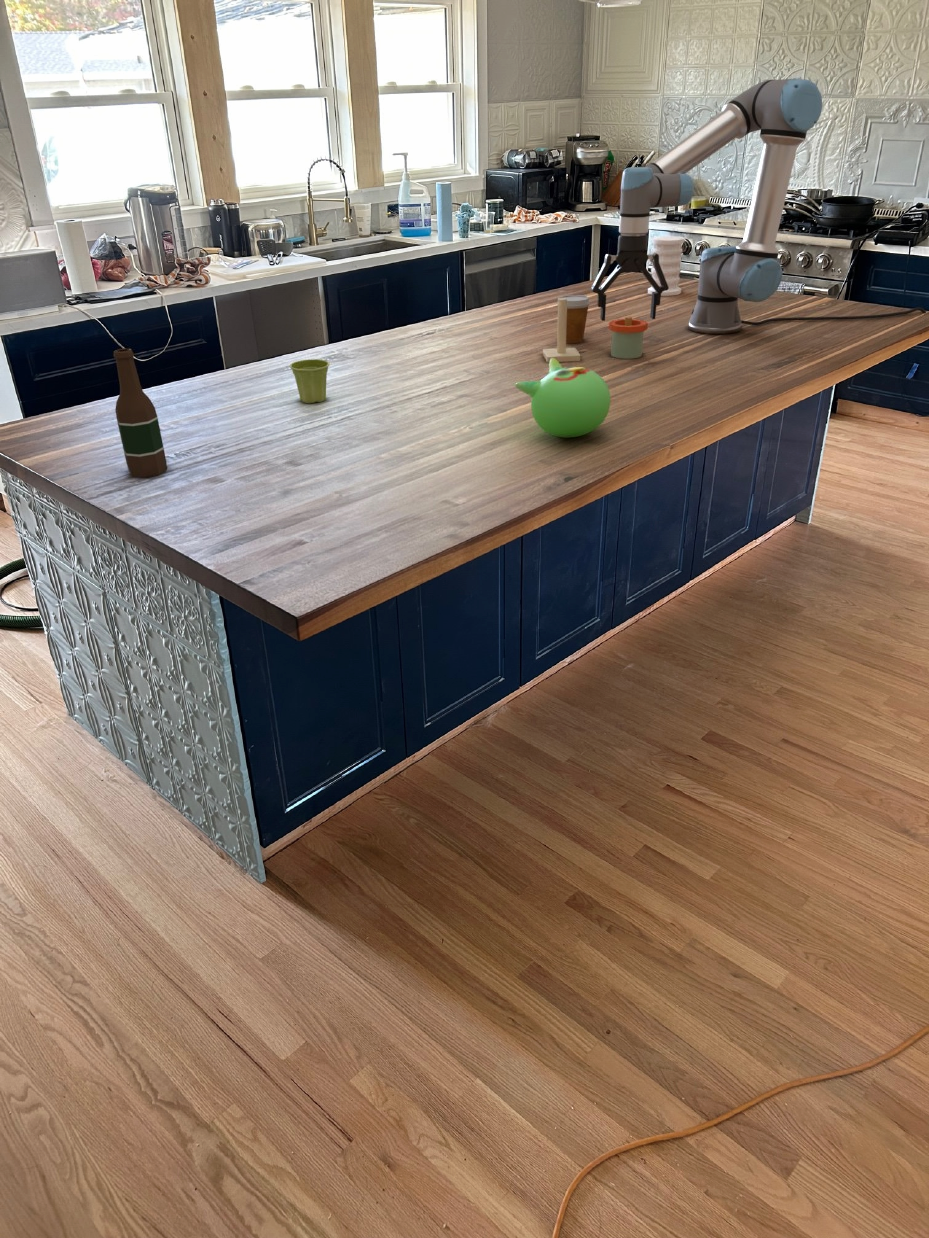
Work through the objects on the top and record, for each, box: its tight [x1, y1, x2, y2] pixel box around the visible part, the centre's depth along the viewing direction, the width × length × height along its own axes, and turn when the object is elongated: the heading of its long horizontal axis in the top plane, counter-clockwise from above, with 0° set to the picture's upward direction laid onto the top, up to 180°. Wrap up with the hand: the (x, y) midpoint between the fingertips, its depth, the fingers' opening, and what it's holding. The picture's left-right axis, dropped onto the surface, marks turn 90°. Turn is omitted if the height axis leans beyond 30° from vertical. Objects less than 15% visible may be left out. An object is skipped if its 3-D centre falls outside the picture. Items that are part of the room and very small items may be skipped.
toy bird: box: [514, 358, 611, 439], centre depth 193 cm, size 18×17×15 cm
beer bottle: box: [113, 347, 168, 479], centre depth 178 cm, size 8×8×24 cm
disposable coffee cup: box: [556, 294, 591, 344], centre depth 266 cm, size 10×10×12 cm
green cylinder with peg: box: [610, 316, 645, 360], centre depth 251 cm, size 8×8×10 cm
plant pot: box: [289, 358, 330, 404], centre depth 222 cm, size 9×9×9 cm
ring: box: [608, 318, 649, 333], centre depth 249 cm, size 10×10×2 cm
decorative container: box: [647, 235, 685, 297], centre depth 322 cm, size 12×12×18 cm
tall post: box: [542, 297, 581, 364], centre depth 249 cm, size 9×9×16 cm
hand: (627, 319), depth 248 cm, fingers open, 13 cm apart
